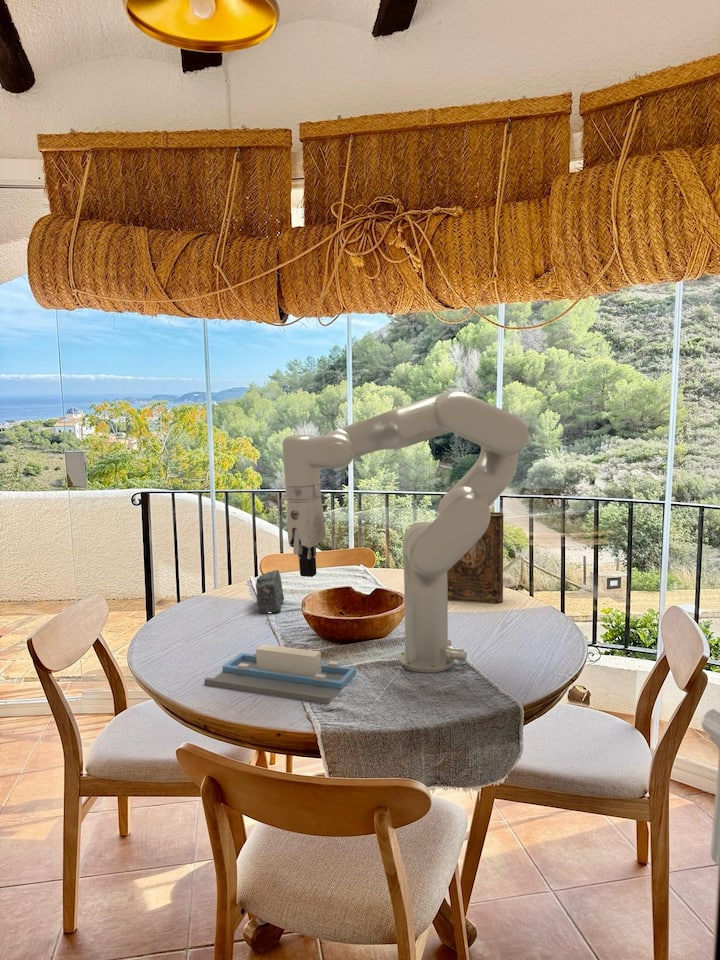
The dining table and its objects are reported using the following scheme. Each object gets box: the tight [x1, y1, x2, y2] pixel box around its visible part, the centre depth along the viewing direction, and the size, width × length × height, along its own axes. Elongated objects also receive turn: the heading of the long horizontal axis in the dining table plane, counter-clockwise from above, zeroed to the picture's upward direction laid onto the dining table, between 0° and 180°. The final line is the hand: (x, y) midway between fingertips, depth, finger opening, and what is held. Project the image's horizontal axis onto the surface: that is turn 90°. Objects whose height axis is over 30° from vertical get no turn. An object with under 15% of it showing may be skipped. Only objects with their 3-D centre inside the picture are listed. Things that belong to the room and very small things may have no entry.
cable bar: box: [255, 643, 322, 677], centre depth 151 cm, size 14×3×5 cm, turn 69°
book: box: [447, 511, 504, 605], centre depth 199 cm, size 16×6×25 cm, turn 73°
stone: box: [255, 569, 285, 614], centre depth 197 cm, size 12×8×10 cm, turn 6°
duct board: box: [204, 651, 357, 705], centre depth 148 cm, size 28×15×3 cm, turn 69°
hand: (308, 575), depth 153 cm, fingers closed
